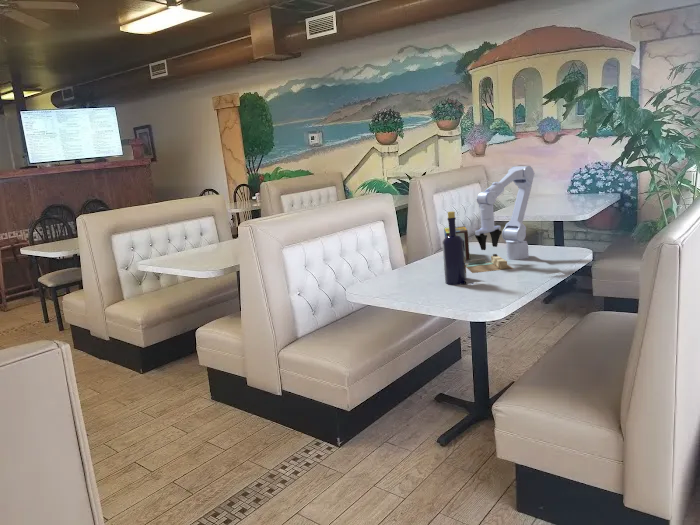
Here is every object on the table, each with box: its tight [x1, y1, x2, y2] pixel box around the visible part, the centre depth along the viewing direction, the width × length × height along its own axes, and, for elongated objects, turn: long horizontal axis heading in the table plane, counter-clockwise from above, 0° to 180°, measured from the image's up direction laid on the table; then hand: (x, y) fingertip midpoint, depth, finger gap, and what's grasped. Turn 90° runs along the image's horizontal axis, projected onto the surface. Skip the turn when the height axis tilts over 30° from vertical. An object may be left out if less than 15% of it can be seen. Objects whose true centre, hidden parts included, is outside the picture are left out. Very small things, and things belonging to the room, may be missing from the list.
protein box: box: [443, 225, 471, 261], centre depth 278 cm, size 10×15×16 cm
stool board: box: [466, 261, 514, 274], centre depth 254 cm, size 18×18×1 cm
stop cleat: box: [467, 258, 487, 265], centre depth 261 cm, size 8×1×2 cm, turn 92°
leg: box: [490, 253, 508, 270], centre depth 252 cm, size 14×3×4 cm, turn 2°
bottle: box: [442, 210, 468, 286], centre depth 234 cm, size 9×9×30 cm
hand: (489, 248), depth 254 cm, fingers open, 7 cm apart
